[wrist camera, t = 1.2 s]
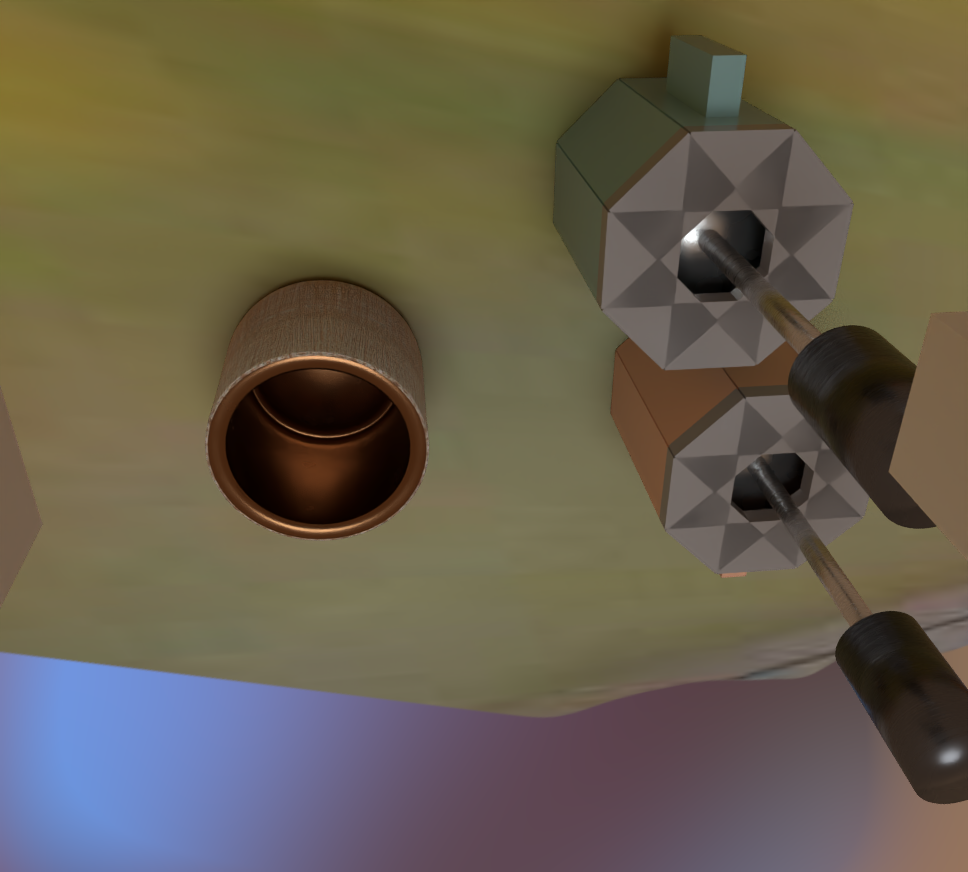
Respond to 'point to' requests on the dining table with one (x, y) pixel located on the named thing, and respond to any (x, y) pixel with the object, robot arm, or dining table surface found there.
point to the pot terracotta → (726, 457)
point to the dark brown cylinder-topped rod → (817, 361)
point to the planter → (319, 413)
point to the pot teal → (694, 207)
